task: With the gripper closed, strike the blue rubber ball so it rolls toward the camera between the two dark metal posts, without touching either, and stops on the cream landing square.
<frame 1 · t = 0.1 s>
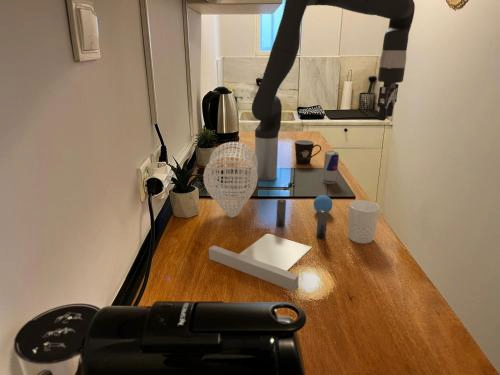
hand: (385, 118, 123), 29 cm above the countertop, tool pointing down, fingers open, 8 cm apart
energy drink: (329, 182, 152), on the countertop
white cup: (360, 238, 107), on the countertop
ball: (323, 204, 122), on the countertop
stopper wall: (250, 272, 90), on the countertop
right post: (320, 237, 107), on the countertop
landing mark: (276, 251, 100), on the countertop
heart: (232, 217, 120), on the countertop
left post: (280, 225, 114), on the countertop
coffee mug: (306, 163, 176), on the countertop
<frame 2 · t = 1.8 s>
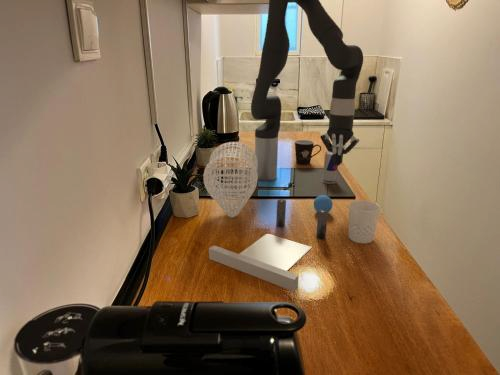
hand: (337, 164, 126), 14 cm above the countertop, tool pointing down, fingers closed
nothing on the countertop moved.
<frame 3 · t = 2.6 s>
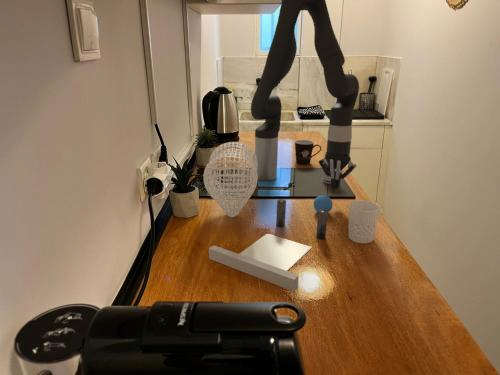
hand: (335, 188, 128), 6 cm above the countertop, tool pointing down, fingers closed
nothing on the countertop moved.
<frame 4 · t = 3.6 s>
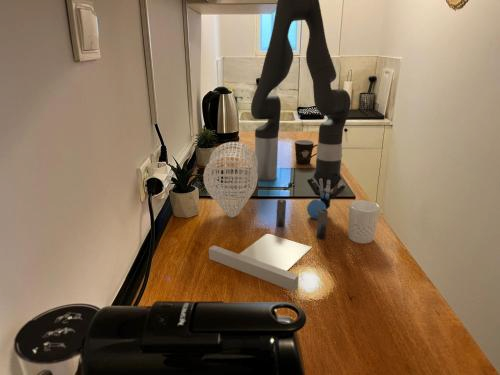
hand: (324, 208, 121), 2 cm above the countertop, tool pointing down, fingers closed
ball: (316, 209, 118), on the countertop
everything else where it was.
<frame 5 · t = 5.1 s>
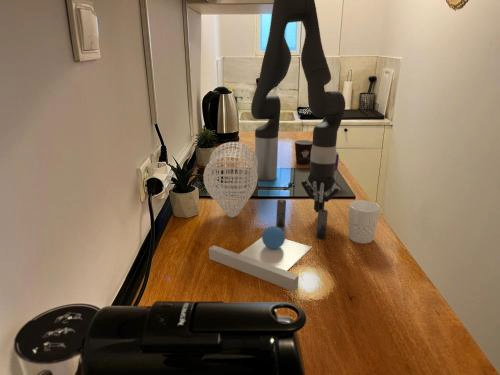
hand: (318, 211, 120), 2 cm above the countertop, tool pointing down, fingers closed
ball: (273, 237, 100), on the countertop
everything else where it was.
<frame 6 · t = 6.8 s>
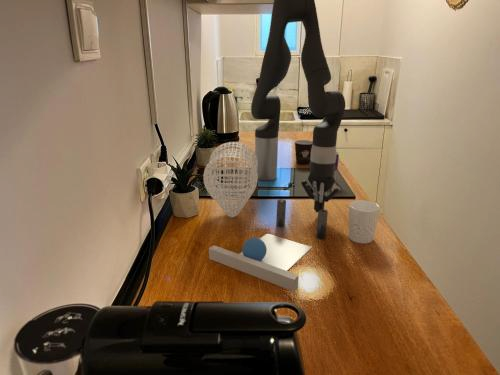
hand: (318, 211, 120), 2 cm above the countertop, tool pointing down, fingers closed
ball: (254, 249, 94), on the countertop
everything else where it was.
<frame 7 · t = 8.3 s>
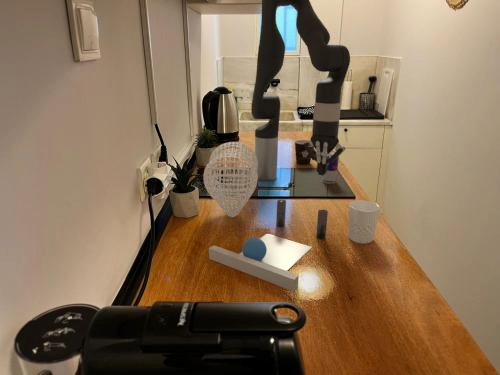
hand: (321, 174, 116), 14 cm above the countertop, tool pointing down, fingers closed
nothing on the countertop moved.
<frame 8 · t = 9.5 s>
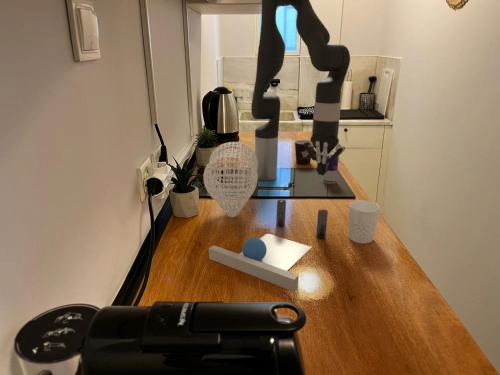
hand: (321, 174, 116), 14 cm above the countertop, tool pointing down, fingers closed
nothing on the countertop moved.
at the end: ball 7.5 cm from the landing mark (horizontally); ball never touched left post; ball never touched right post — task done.
